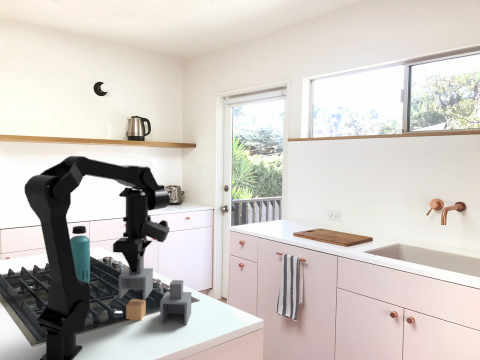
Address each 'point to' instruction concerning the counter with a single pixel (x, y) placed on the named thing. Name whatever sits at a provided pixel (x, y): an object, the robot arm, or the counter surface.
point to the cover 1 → (136, 280)
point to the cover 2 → (176, 301)
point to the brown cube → (135, 309)
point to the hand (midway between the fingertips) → (136, 270)
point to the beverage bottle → (81, 253)
